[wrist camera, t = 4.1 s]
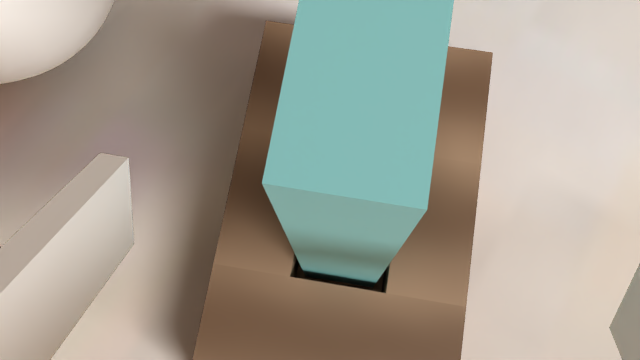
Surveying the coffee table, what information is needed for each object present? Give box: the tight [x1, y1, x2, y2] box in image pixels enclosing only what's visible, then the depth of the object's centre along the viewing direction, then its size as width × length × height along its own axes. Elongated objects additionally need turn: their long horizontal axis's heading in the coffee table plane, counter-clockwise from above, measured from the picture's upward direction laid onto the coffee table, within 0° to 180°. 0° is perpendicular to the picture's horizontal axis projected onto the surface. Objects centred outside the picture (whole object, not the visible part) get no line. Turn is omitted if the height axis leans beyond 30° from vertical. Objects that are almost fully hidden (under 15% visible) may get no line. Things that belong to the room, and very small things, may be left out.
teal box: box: [262, 0, 454, 288], centre depth 19 cm, size 5×3×16 cm, turn 170°
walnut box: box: [192, 21, 493, 360], centre depth 25 cm, size 16×10×4 cm, turn 170°
